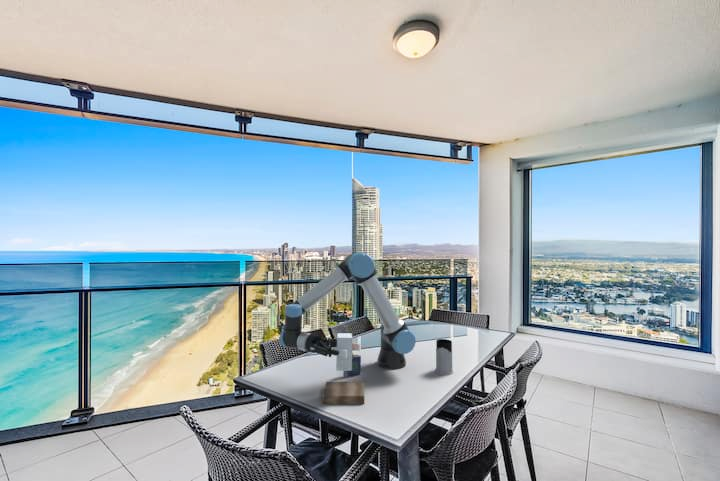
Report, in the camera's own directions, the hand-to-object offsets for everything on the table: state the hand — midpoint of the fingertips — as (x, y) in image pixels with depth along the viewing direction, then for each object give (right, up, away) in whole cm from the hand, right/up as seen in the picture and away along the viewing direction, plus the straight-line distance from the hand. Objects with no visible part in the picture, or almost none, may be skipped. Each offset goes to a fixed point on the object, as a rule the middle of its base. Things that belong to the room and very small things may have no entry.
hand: (353, 350), depth 125 cm
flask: (-1, -20, +23) cm, 31 cm away
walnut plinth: (-4, -19, +1) cm, 19 cm away
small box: (-4, -8, +2) cm, 9 cm away
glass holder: (+46, -21, +32) cm, 60 cm away
